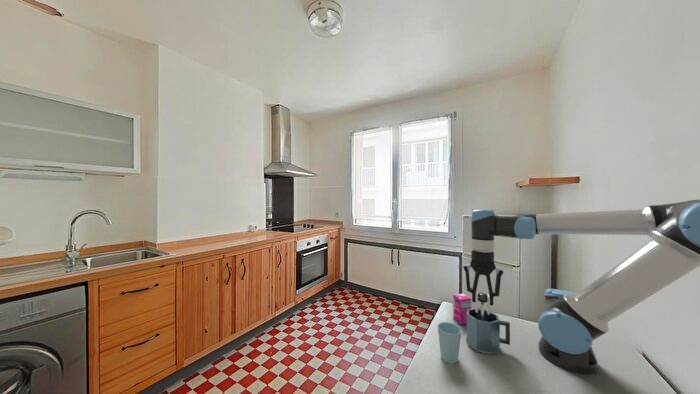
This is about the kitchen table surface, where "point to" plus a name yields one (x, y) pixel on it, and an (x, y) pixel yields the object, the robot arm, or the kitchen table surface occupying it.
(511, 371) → the kitchen table surface
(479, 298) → the plunger
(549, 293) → the robot arm
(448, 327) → the cup
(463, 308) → the supplement box
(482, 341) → the press carafe
